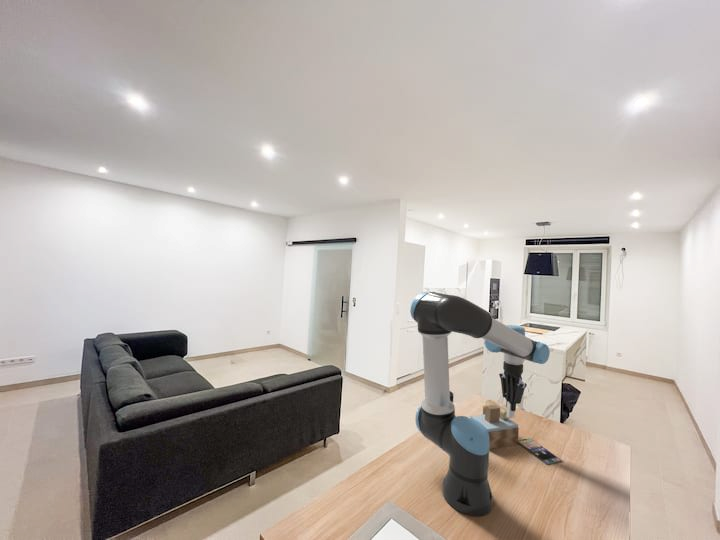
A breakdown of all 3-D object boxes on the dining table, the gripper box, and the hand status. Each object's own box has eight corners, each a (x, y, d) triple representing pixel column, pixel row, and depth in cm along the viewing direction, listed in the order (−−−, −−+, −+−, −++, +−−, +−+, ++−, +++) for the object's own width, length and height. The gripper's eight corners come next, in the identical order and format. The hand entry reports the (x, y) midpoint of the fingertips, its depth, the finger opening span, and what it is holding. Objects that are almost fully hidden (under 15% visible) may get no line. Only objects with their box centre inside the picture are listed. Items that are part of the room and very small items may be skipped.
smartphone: (547, 466, 114) (547, 463, 114) (515, 443, 128) (516, 440, 128) (563, 463, 117) (563, 459, 117) (530, 440, 131) (530, 437, 131)
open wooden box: (486, 449, 122) (487, 426, 122) (463, 429, 137) (464, 408, 136) (519, 443, 127) (520, 421, 127) (493, 424, 142) (494, 404, 141)
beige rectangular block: (503, 419, 130) (503, 411, 130) (485, 407, 140) (486, 400, 140) (508, 418, 131) (509, 411, 131) (490, 406, 141) (491, 399, 141)
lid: (487, 434, 122) (488, 414, 122) (470, 421, 133) (471, 402, 132) (517, 429, 127) (518, 410, 127) (499, 417, 137) (500, 399, 137)
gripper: (533, 366, 123) (529, 423, 123) (508, 356, 135) (506, 408, 136) (518, 368, 120) (515, 426, 121) (495, 357, 133) (492, 410, 133)
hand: (510, 416), depth 128 cm, fingers closed
